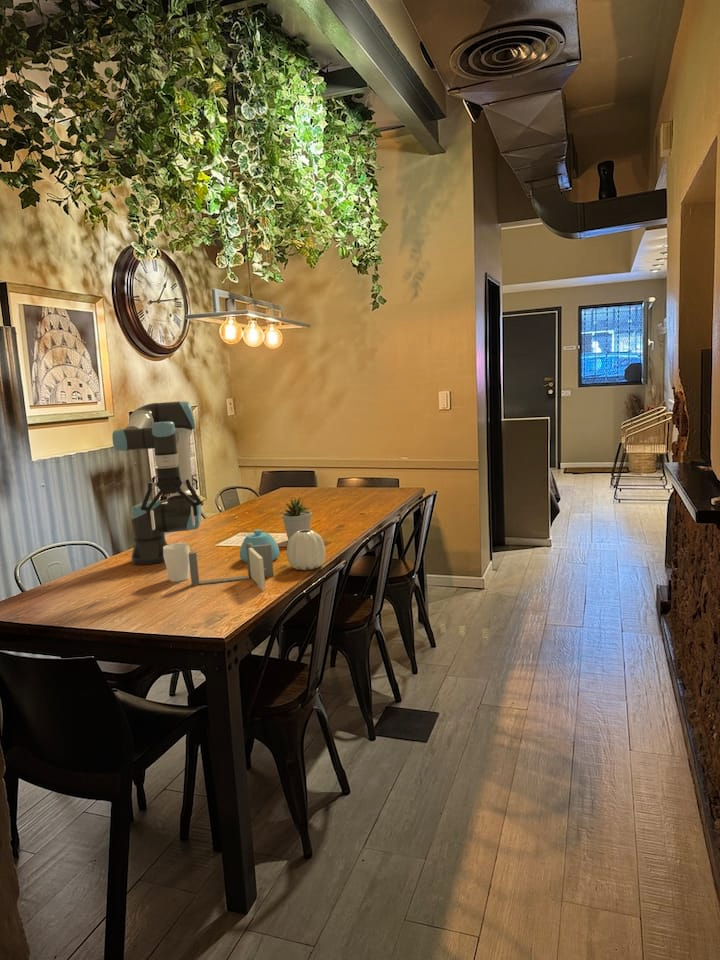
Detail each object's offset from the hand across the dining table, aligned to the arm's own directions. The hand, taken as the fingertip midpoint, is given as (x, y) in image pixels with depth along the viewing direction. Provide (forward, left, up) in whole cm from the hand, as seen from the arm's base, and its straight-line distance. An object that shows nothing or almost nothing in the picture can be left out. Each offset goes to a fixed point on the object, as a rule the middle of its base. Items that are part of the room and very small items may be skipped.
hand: (173, 527), depth 224 cm
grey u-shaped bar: (+9, +19, -19) cm, 28 cm away
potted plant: (-40, +46, -19) cm, 64 cm away
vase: (+4, +45, -19) cm, 49 cm away
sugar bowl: (-15, +29, -19) cm, 38 cm away
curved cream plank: (+18, +27, -18) cm, 37 cm away
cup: (0, 0, -19) cm, 19 cm away
